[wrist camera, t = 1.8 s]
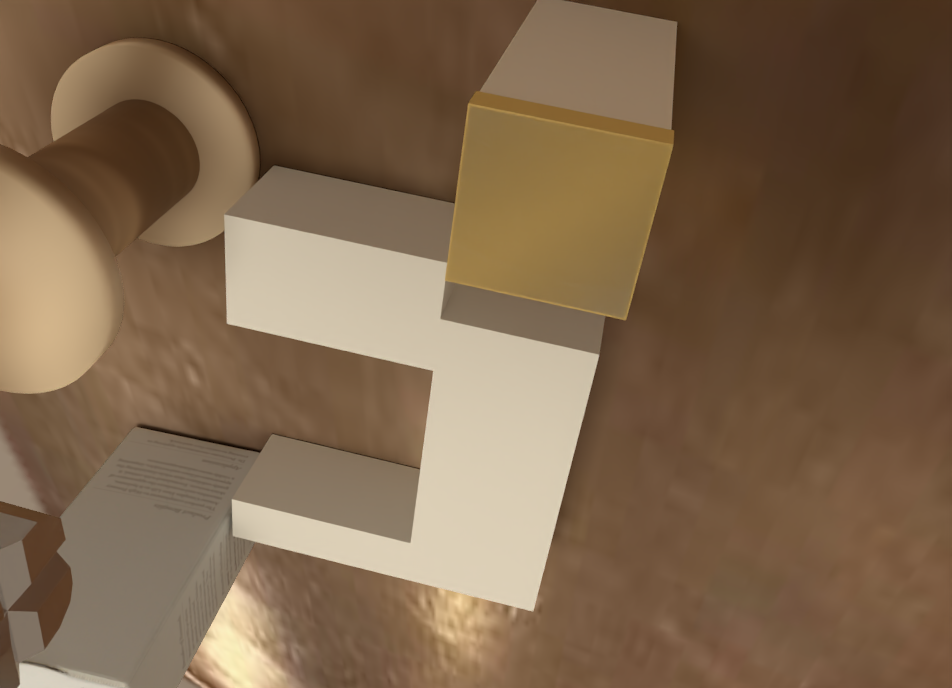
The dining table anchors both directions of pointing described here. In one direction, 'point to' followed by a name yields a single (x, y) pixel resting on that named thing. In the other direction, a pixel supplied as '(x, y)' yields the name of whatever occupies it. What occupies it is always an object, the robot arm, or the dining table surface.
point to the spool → (111, 198)
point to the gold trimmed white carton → (566, 159)
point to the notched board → (451, 399)
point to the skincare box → (145, 564)
